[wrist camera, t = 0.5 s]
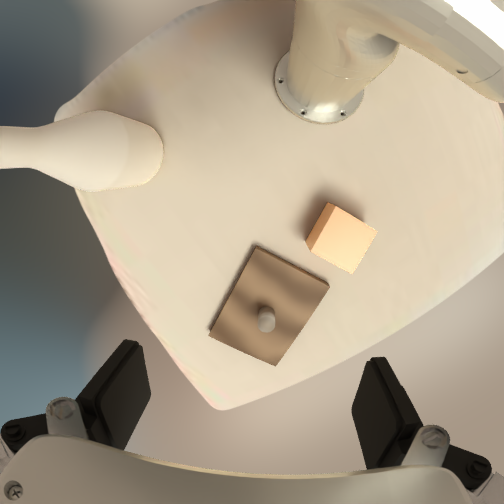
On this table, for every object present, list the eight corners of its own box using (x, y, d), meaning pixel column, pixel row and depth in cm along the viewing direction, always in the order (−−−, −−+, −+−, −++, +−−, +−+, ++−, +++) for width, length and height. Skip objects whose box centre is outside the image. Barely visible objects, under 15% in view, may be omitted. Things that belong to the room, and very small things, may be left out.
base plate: (256, 245, 41) (254, 255, 36) (328, 283, 42) (334, 296, 37) (210, 331, 45) (203, 347, 40) (275, 361, 46) (275, 379, 41)
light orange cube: (327, 201, 39) (336, 206, 34) (364, 224, 39) (377, 231, 34) (305, 241, 40) (310, 251, 35) (342, 262, 41) (352, 274, 36)
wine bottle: (177, 162, 39) (6, 154, 10) (128, 198, 41) (-43, 245, 12) (147, 111, 37) (-15, 52, 8) (101, 149, 39) (-66, 146, 10)
